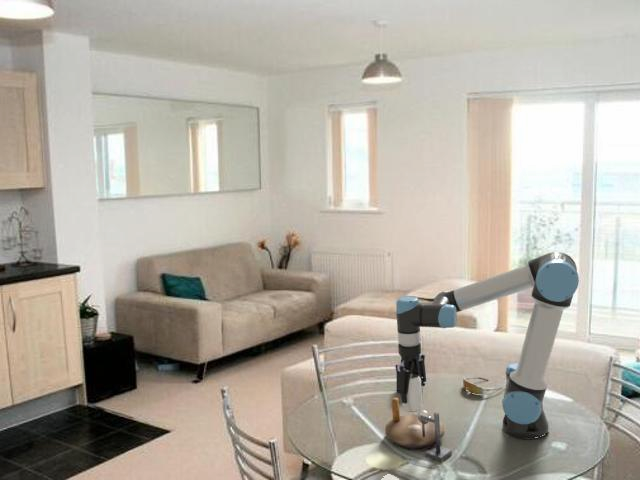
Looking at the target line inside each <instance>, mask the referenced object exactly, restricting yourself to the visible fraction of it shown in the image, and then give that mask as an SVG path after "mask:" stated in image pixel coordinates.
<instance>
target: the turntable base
mask: <svg viewBox="0 0 640 480" xmlns="http://www.w3.org/2000/svg"><path fill="white" fill-rule="evenodd" d="M391 442H392V444H393V445H395V446H396V447H398V448H401V449H404V450H409V451H410V450H411V451H421V450H427V449H431V448H432V447H434V446H435V445H436V442H434V443H431V444H428V445H422V446H407V445H401V444H398V443H395V442H393V441H391Z"/></svg>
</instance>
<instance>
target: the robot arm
mask: <svg viewBox="0 0 640 480" xmlns="http://www.w3.org/2000/svg"><path fill="white" fill-rule="evenodd" d="M579 279H580V278H579V273H578V267H577V264H576V261H574V258H572V256H570V255H568V254H567V253H565V252H560V251H552V252H549V253H545V254H543V255H540V256H537V257H535V258H533V259H530V260H527V261H526V263H525V265H522V266H520V267H516V268H514V269H511V270H508V271H505V272H502V273H499V274H496V275H494V276H490V277H488V278H484V279H482V280H479V281H476V282H473V283H471V284H467V285H464V286H462V287H459V288H456V289H454V290H450V291H446V290H444V291H441V292H439V293H438V294H437V295H436V296H435V297H434V298H433V299H434V300H433V301H432V302H431V303H430V304H428V303H425V304H424V303H420V301H419V298H418V297H416V296H409V295H408V296H402V297H399V298H398V299H397V300H396V303H395V304H396V305H395V306H396V307H395V308H396V311H395V314H396V325H397V326H396V327H397V343H398V345H397V346H398V347H397V348H398V355H399V356H400V357H401V359H400V364H395V365H394V367H395V368H394V369H395V371H396V394H399V395H400V396H401V397H400V398H401V404H402V405H401V406H402V411H403V412H406V413H411V412H410V394H409V393H408V388H409V381H410V375H411V374H412V373H414V374H419V377H420V379H421V392H422V394H423V387H425V385H426V382H427V374H426V364H425V357H426V356H425V354H422V345H421V341H422V339H421V337H422V336H421V328H435V329H436V328H438V329H439V328H440V329H441V328H442V329H447V328H448V329H450V328H451V329H452V328H454V327H456V325H457V317H458V316H457V314H458V313H460V312H463V311H465V310H469V309H471V308H474V307H477V306H481V305H484V304H486V303H489V302H492V301H495V300H499V299H501V298H505V297H507V296H511V295H514V294H517V293H520V292H523V291H527V290H530V289H532V291H531V295H530V296H531V298H532V300H533V301H534V302H533V303H534V304H533V307H532V311H531V314H530V318H529V323H528V326H527V329H526V333H525V337H524V341H523V344H522V348H521V351H520V356H519V359H518V362H517V363H511V364H509V365H507V366H506V368H505V377H506V378H505V383H506V384H505V387H504V388H505V389H504V394H503V399H502V402H501V403H502V410H503V413H504V415H503V419H502V430H503V431H504V433H505V434H507V435H508V436H511V437H513V438H516V439H520V438H524V439H523V440H528V439H527V438H535V437H540V436H542V435H544V434H546V433H547V432H548V430H549V431H550V429H549V422H548V419H547V416H546V413H545V410H544V408H543V407H544V406H543V404H544V403H543V401H544V397H545V395H546V391H547V387H548V383H547V382H546V380H545V375H546V372H547V369H548V365H549V361H550V360H551V359H550V358H551V355H552V354H551V353H552V351H553V349H554V345H555V340H556V338H557V334H558V330H559V327H560V323H561V319H562V316H563V312H564V310H566V309H568V308H570V307H571V303H572V301H573V297H574V294H575V293H576V291H577V290H578V287H579V281H580V280H579ZM405 370H407V371H405ZM423 401H424V400H423V397H422V405H424V402H423ZM548 433H549V432H548ZM525 438H526V439H525Z"/></svg>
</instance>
